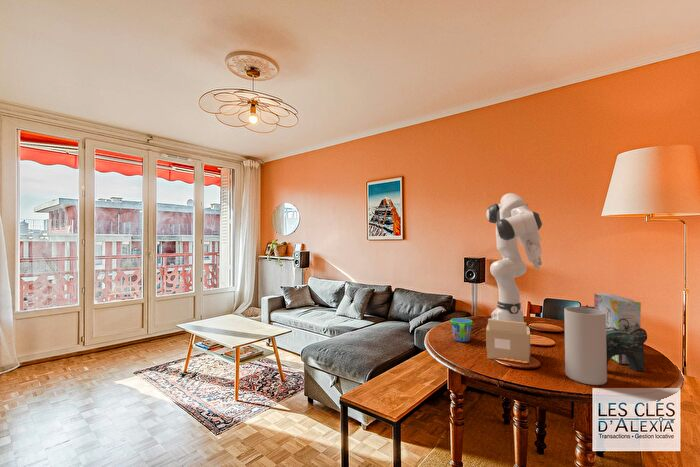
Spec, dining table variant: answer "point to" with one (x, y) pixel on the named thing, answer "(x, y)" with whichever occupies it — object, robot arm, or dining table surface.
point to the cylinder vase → (585, 345)
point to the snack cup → (461, 329)
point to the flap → (507, 326)
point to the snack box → (618, 314)
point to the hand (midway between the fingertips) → (539, 267)
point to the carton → (508, 344)
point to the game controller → (627, 345)
